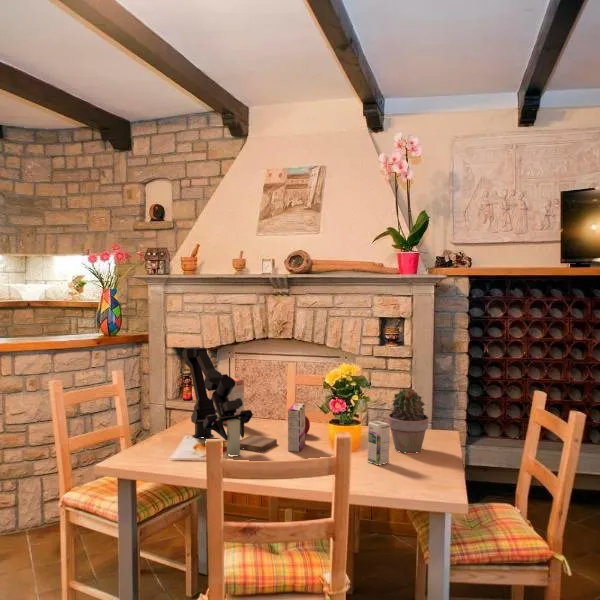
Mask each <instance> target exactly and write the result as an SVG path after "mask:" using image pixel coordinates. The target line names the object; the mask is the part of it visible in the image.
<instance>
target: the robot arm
mask: <svg viewBox="0 0 600 600" xmlns="http://www.w3.org/2000/svg"><path fill="white" fill-rule="evenodd" d="M181 355H182V358H183V360H184V364H185V365H186V366H187V367H188V368H189V370H190V374H191V380H192V384H193V385H192V386H193V390H194V395H195V399H196V401H195V402H194V403H195V404H194V406H193V412H192V413H191V416H190V421H191V423H193V424H194V434H192V436H194V437H193V438H196V437H204V438H205V439H207V438H206V437H208V438H210V437H214V436H215V435H214V434H212V431H214V432H215V433H216V434H218V435H220V436H221V437H222V439H224V441H226V442H227V440H228V438H227V431H226V429H225V426H224V424H223V422H227V420H230V419H238V420H240V438H241V439H244V438H245V424H248V423H249V422H250V421H251V419H252V418H253V415H254V414H253V411H252V410H251V409H244V410H243V411H241V412H240V414H239V415H235V414H234V413H236V412H237V411H236V409H239V407H241V406H243V402H242V400H241V398H237V399H235V400H233V401H229V398H228V396H229V395H230V394H231V392H232V390H233V388H234V386H235V380H234V379H233V378H234V377H232V378H231V376H229V375H228V373H223V374H222V373H221V372H220V371H219V370H217V369H216V368H215V365H214V363H213V362H212V360H211V357H210V355H209V354H208V349H207V347H200V346H193V347H185V348H184V349H183V350H182V352H181ZM207 391H208V392H210V391H211V392H212V391H213V392H212V393H211V397H210V398H209V396H208V392H207ZM215 406H216V409H215ZM216 413H218V415H219V417H217V415H216ZM192 436H191V437H192Z"/></svg>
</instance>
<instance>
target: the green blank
mask: <svg viewBox="0 0 600 600" xmlns="http://www.w3.org/2000/svg"><path fill="white" fill-rule="evenodd" d="M226 434H227V438H228V440H227V441H226V455H227V454H230V455H239V454H240V455H241V449H240V440H241V435H240V420H238V419H230V420H227V425H226Z"/></svg>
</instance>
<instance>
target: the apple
mask: <svg viewBox="0 0 600 600" xmlns="http://www.w3.org/2000/svg"><path fill="white" fill-rule="evenodd" d="M310 428H311V424H310V420H309V418H308V417H307V416H306V415H305V436H306V435H307V434H308V433H309V431H310Z"/></svg>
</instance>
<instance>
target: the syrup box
mask: <svg viewBox="0 0 600 600" xmlns="http://www.w3.org/2000/svg"><path fill="white" fill-rule="evenodd" d="M367 427H368V429H367V462H368V461H370V462H372V463H375V464H378V465H379V464H383V463H386V462H389V463H390V433H391V429H390V424H388V423H387V422H384V421H381V420H380V421H379V420H375V421H370V422H368V425H367ZM372 463H371V464H372Z"/></svg>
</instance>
